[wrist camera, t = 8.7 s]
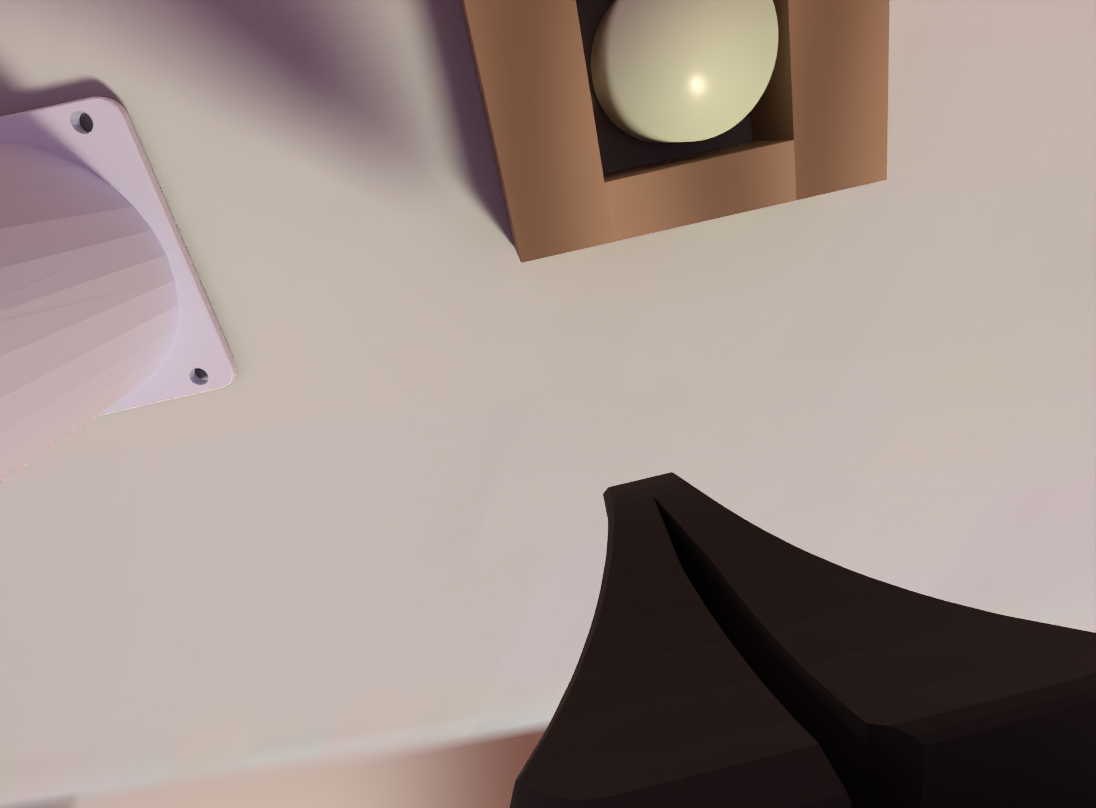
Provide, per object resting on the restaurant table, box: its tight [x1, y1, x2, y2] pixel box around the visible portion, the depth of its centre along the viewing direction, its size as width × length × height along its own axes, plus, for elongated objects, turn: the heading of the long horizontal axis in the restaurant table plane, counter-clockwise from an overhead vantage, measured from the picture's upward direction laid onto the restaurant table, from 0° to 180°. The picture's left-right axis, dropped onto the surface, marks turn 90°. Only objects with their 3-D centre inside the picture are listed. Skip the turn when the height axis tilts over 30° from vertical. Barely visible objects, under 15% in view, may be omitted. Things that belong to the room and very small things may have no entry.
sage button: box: [591, 0, 778, 143], centre depth 16 cm, size 4×4×3 cm
